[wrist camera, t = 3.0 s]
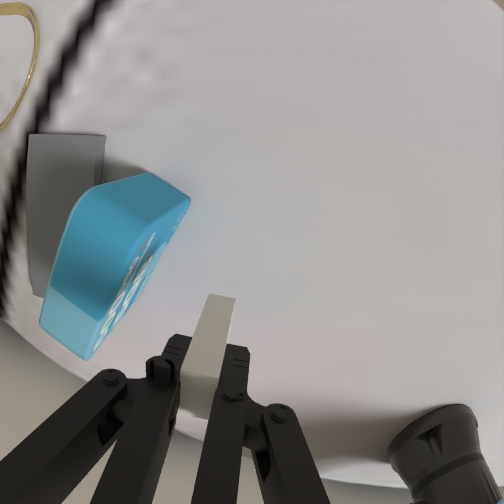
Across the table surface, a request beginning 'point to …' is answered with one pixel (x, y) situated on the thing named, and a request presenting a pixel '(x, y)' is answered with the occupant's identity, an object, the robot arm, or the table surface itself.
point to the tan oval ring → (31, 16)
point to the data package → (108, 257)
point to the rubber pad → (56, 193)
